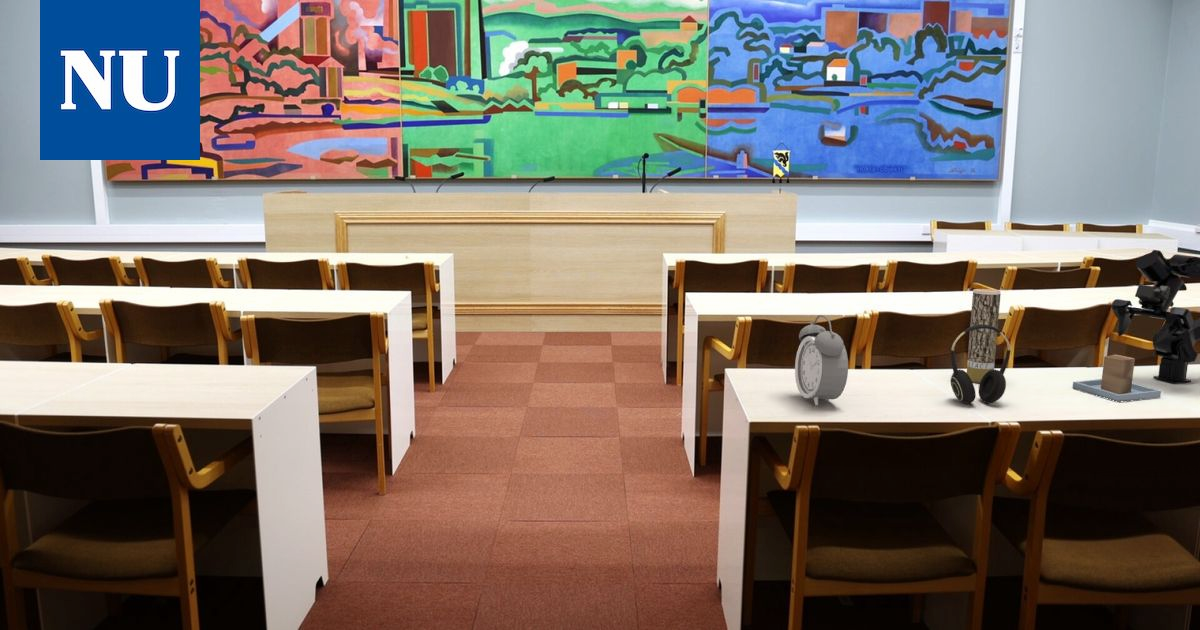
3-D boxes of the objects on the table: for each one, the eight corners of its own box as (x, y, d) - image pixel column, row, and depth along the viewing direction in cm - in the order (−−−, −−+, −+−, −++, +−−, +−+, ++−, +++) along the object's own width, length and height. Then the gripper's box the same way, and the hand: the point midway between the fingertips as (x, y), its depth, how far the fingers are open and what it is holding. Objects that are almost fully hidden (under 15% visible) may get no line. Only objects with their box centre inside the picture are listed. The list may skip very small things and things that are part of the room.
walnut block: (1111, 387, 230) (1115, 354, 229) (1130, 392, 226) (1134, 358, 225) (1100, 390, 228) (1104, 356, 226) (1119, 394, 224) (1123, 360, 222)
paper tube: (972, 376, 244) (980, 288, 239) (997, 381, 239) (1005, 291, 234) (961, 380, 239) (968, 290, 235) (986, 385, 234) (994, 293, 230)
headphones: (940, 398, 222) (945, 321, 219) (997, 397, 223) (1004, 321, 219) (954, 407, 214) (960, 327, 210) (1013, 407, 214) (1021, 327, 210)
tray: (1112, 384, 236) (1113, 377, 236) (1160, 397, 223) (1160, 390, 223) (1072, 388, 232) (1073, 381, 231) (1118, 402, 219) (1119, 395, 218)
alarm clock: (790, 393, 226) (794, 310, 222) (822, 392, 228) (826, 309, 224) (815, 411, 210) (820, 322, 206) (849, 410, 212) (854, 321, 208)
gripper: (1118, 269, 237) (1092, 313, 233) (1194, 278, 222) (1167, 325, 218) (1129, 295, 243) (1104, 339, 239) (1204, 305, 227) (1178, 352, 223)
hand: (1137, 338), depth 230 cm, fingers open, 9 cm apart
